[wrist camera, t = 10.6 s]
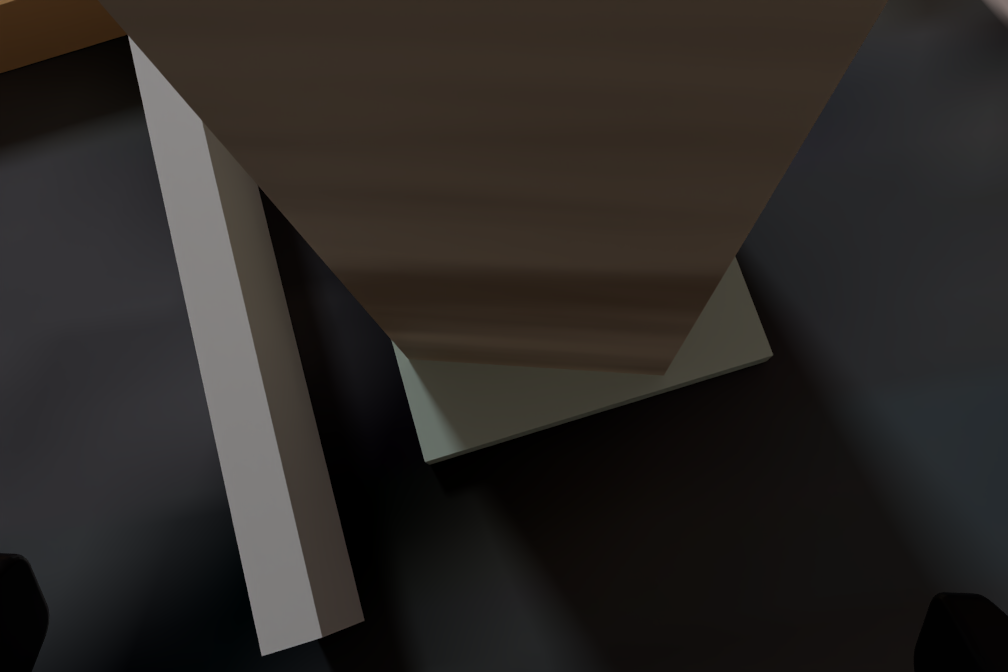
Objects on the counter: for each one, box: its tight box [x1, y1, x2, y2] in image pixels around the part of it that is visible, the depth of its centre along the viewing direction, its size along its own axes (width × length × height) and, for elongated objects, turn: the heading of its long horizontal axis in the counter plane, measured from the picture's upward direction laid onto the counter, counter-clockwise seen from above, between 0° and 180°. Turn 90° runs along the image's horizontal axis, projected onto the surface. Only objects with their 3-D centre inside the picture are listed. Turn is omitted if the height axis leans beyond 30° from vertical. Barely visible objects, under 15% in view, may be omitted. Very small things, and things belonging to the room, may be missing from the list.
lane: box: [128, 36, 365, 656], centre depth 17 cm, size 14×10×3 cm
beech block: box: [98, 0, 888, 376], centre depth 11 cm, size 5×5×13 cm
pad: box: [392, 257, 773, 465], centre depth 18 cm, size 7×7×1 cm
